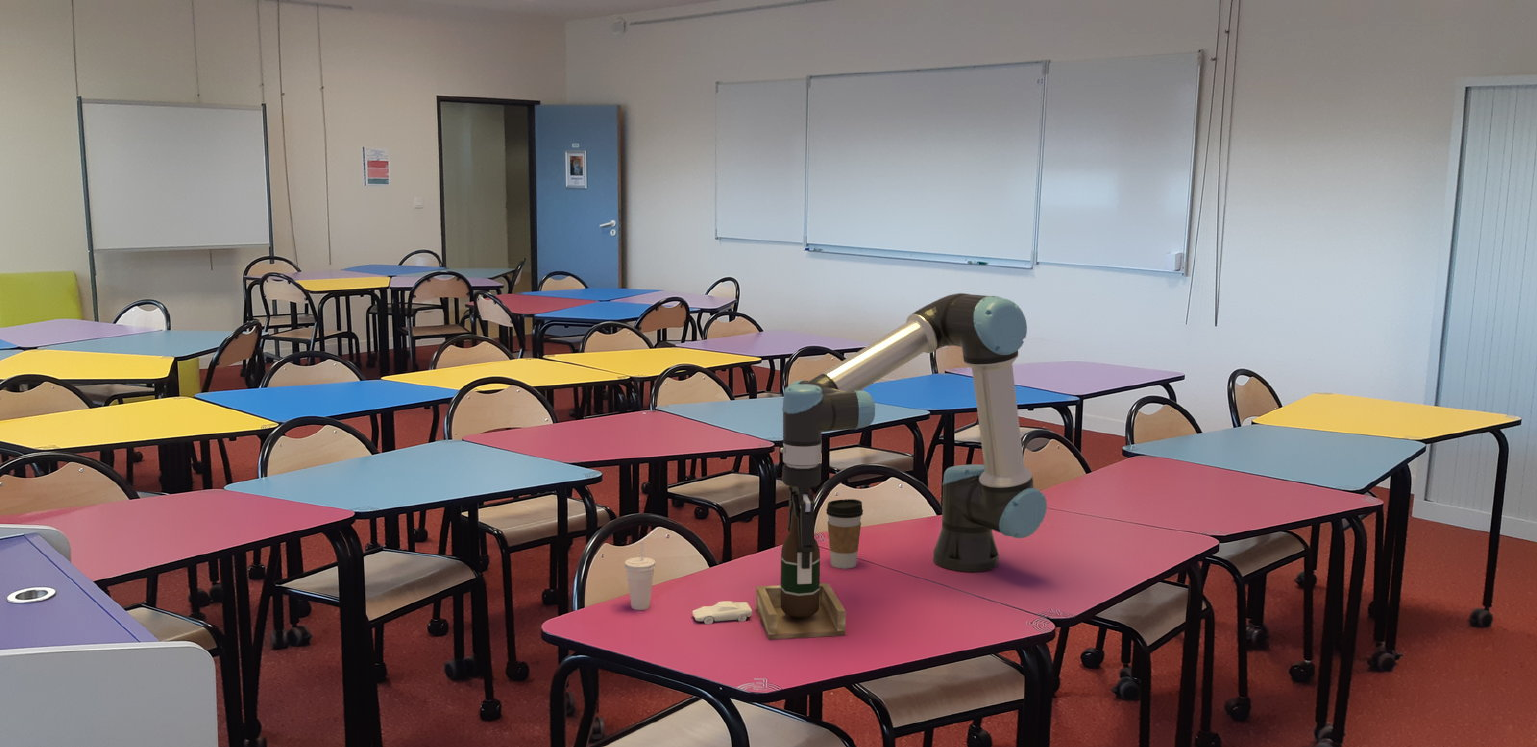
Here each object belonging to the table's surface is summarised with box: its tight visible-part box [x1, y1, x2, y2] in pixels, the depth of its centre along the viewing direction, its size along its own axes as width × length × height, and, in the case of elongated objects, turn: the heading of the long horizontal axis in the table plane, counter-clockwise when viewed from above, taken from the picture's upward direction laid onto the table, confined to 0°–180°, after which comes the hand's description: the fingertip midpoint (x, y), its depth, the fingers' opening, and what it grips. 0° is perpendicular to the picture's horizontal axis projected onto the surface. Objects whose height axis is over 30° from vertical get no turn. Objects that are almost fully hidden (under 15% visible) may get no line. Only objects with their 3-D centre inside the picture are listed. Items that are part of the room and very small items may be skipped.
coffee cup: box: [826, 498, 864, 570], centre depth 254 cm, size 8×8×15 cm
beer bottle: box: [780, 494, 821, 617], centre depth 217 cm, size 8×8×24 cm
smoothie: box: [624, 539, 657, 611], centre depth 226 cm, size 6×6×14 cm
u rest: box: [755, 582, 847, 641], centre depth 219 cm, size 15×16×5 cm
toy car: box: [691, 600, 753, 625], centre depth 221 cm, size 6×12×3 cm, turn 104°
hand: (800, 576), depth 218 cm, fingers closed on beer bottle, 7 cm apart
